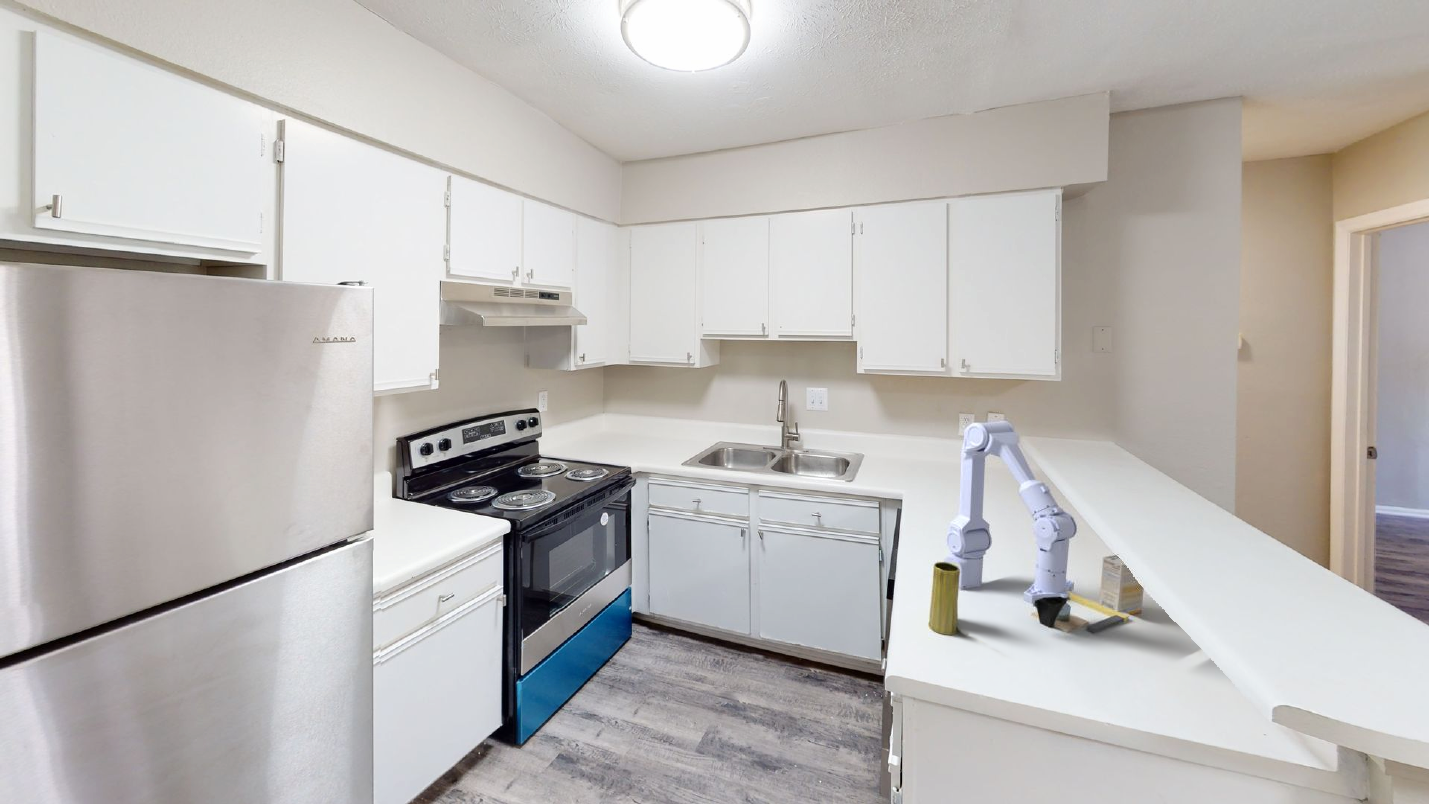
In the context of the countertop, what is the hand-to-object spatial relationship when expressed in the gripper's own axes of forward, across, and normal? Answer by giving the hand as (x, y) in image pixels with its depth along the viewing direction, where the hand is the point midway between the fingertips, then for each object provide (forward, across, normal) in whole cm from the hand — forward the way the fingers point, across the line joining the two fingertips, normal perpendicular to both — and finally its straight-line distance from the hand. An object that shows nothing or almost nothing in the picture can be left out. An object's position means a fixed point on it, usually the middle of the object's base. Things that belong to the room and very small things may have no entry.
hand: (1046, 626), depth 124 cm
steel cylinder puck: (-1, +5, 0) cm, 5 cm away
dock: (+1, +12, 0) cm, 12 cm away
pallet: (+1, +5, 0) cm, 5 cm away
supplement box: (+1, +25, -2) cm, 25 cm away
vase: (+1, -19, +11) cm, 22 cm away
